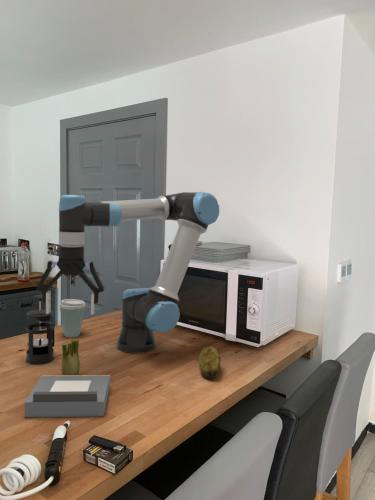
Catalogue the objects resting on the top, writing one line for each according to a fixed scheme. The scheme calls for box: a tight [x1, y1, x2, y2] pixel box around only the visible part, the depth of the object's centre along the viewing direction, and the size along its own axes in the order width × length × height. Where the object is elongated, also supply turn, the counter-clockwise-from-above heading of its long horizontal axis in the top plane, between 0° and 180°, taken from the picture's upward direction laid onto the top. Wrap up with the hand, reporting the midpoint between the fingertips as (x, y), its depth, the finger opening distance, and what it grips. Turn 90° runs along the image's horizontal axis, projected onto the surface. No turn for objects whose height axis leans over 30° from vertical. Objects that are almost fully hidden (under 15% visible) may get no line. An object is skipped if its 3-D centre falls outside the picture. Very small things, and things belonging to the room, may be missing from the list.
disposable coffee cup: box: [58, 298, 86, 338], centre depth 166 cm, size 11×11×15 cm
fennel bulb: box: [61, 339, 81, 375], centre depth 126 cm, size 6×5×12 cm
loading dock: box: [24, 374, 111, 418], centre depth 111 cm, size 20×17×6 cm
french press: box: [25, 294, 56, 366], centre depth 139 cm, size 12×9×23 cm
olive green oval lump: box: [198, 345, 222, 380], centre depth 134 cm, size 8×13×8 cm, turn 163°
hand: (70, 313), depth 124 cm, fingers open, 13 cm apart
